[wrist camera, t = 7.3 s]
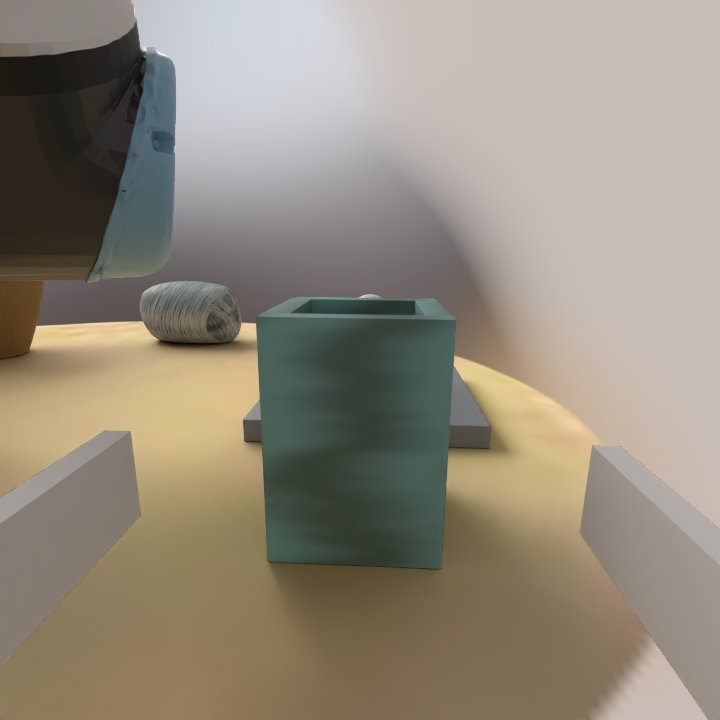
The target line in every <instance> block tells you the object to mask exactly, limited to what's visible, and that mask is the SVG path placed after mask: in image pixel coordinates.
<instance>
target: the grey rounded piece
mask: <svg viewBox="0 0 720 720" xmlns="http://www.w3.org/2000/svg"><path fill="white" fill-rule="evenodd" d="M140 312H141V316H142V319H143V321H144V324H145V326H146V328H147V329H148V330H149V332H150V333H151V334H152V335H153V336H154V337H156V338H157V339H159V340H162V341H169V342H178V343H225V342H229V341H233V340H234V339H235V338H236V337H237V335H238V334H239V331H240V327H241V323H242V322H241V313H240V308H239V305H238V302H237V300H236V298H235V296H234V294H233V293H232V292H231V290H230V289H228V288H226V287H224V286H222V285H218V284H211V283H205V282H193V281H181V282H180V281H179V282H168V283H162V284H158V285H156V286H153V287H151V288H149V289H148V290H146V291H145V292H144V293H143V294H142V297H141V301H140Z"/></svg>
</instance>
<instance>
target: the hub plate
mask: <svg viewBox="0 0 720 720" xmlns="http://www.w3.org/2000/svg"><path fill="white" fill-rule="evenodd" d="M360 298H381V297H379V296H377V295H373V294H367V295H363V296H361V297H360ZM243 427H244V441H262V434H261V413H260V400H259V401H258V402H257V404H256V405H255V406H254V407H253V408H252V410H251V411H250V412H249V413H248V414H247V416H246V417H245V418H244V419H243ZM490 431H491V426H490V424H489V422H488V421H487V419H486V418H485V416H484V414H483V413H482V411H481V409H480V408H479V406H478V405H477V403H476V401H475V400H474V398H473V396H472V395H471V393H470V391H469V390H468V388H467V387H466V385H465V383H464V382H463V380H462V378H461V377H460V375H459V373H458V372H457V370H456V369H455V367H454V365H453V381H452V397H451V414H450V430H449V447H467V448H489V443H490Z"/></svg>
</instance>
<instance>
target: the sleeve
mask: <svg viewBox="0 0 720 720" xmlns="http://www.w3.org/2000/svg"><path fill="white" fill-rule="evenodd" d="M256 329H257V350H258V371H259V392H260V413H261V434H262V455H263V476H264V497H265V518H266V539H267V560H268V561H269V562H292V563H316V564H339V565H363V566H386V567H410V568H433V569H441V563H442V546H443V530H444V513H445V496H446V480H447V463H448V447H449V430H450V414H451V397H452V381H453V364H454V347H455V331H456V319H455V318H454V317H452V316H451V315H450V314H449V313H448V312H447V311H446V310H445V309H444V308H443V307H442V306H441V305H440V304H439V303H438V302H437V301H436V300H435V299H411V298H410V299H409V298H339V297H293V298H291V299H289V300H287V301H286V302H284V303H282V304H280V305H278V306H276V307H274V308H272V309H270V310H268V311H266V312H264V313H262V314H260V315H258V316H257V317H256Z"/></svg>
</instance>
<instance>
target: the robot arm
mask: <svg viewBox="0 0 720 720" xmlns="http://www.w3.org/2000/svg"><path fill="white" fill-rule="evenodd" d="M175 123H176V77H175V67H174V64H173V62H172V61H171V59H170V58H169V57H168V56H167V55H164V54H161V53H159V52H158V51H156V49H155V48H154V47H144V49H143V50H141V48H140V42H139V35H138V27H137V20H136V14H135V8H134V4H133V2H132V1H131V0H0V281H52V280H53V281H58V280H60V281H63V280H66V281H67V280H85V281H86V282H87V283H92V282H96V281H98V280H100V279H101V278H120V277H140V276H147V275H150V274H152V273H154V272H156V271H157V270H159V269H160V268H161V267H162V266H164V264H165V263H166V261H167V260H168V258H169V255H170V251H171V243H172V231H173V212H174V181H175V153H174V146H175ZM140 516H141V513H140V505H139V497H138V488H137V480H136V472H135V464H134V456H133V448H132V439H131V431H104V432H102V433H101V434H99V435H97V436H96V437H94V438H93V439H91V440H90V441H88V442H87V443H85V444H83V445H82V446H80V447H79V448H77V449H76V450H74V451H72V452H71V453H69V454H68V455H66V456H65V457H63V458H62V459H60V460H58V461H57V462H55V463H54V464H52V465H51V466H49V467H48V468H46V469H44V470H43V471H41V472H40V473H38V474H37V475H35V476H33V477H32V478H30V479H29V480H27V481H26V482H24V483H23V484H21V485H19V486H18V487H16V488H15V489H13V490H12V491H10V492H9V493H7V494H5V495H4V496H2V497H1V498H0V667H1V666H2V665H3V664H4V663H5V662H6V661H7V660H8V659H9V657H10V656H11V655H12V654H13V653H14V652H15V651H16V650H17V649H18V648H19V647H20V646H21V644H22V643H23V642H24V641H25V640H26V639H27V638H28V637H29V636H30V635H31V634H32V633H33V632H34V630H35V629H36V628H37V627H38V626H39V625H40V624H41V623H42V622H43V621H44V620H45V619H46V617H47V616H48V615H49V614H50V613H51V612H52V611H53V610H54V609H55V608H56V607H57V606H58V604H59V603H60V602H61V601H62V600H63V599H64V598H65V597H66V596H67V595H68V594H69V593H70V591H71V590H72V589H73V588H74V587H75V586H76V585H77V584H78V583H79V582H80V581H81V580H82V579H83V577H84V576H85V575H86V574H87V573H88V572H89V571H90V570H91V569H92V568H93V567H94V566H95V564H96V563H97V562H98V561H99V560H100V559H101V558H102V557H103V556H104V555H105V554H106V553H107V551H108V550H109V549H110V548H111V547H112V546H113V545H114V544H115V543H116V542H117V541H118V540H119V538H120V537H121V536H122V535H123V534H124V533H125V532H126V531H127V530H128V529H129V528H130V527H131V525H132V524H133V523H134V522H135V521H136V520H137V519H138V518H139V517H140ZM580 534H581V536H582V537H583V539H584V540H585V542H586V543H587V544H588V546H589V547H590V549H591V550H592V552H593V553H594V555H595V556H596V557H597V559H598V560H599V562H600V563H601V565H602V566H603V568H604V569H605V571H606V572H607V573H608V575H609V576H610V578H611V579H612V581H613V582H614V584H615V585H616V586H617V588H618V589H619V591H620V592H621V594H622V595H623V597H624V598H625V600H626V601H627V602H628V604H629V605H630V607H631V608H632V610H633V611H634V613H635V614H636V615H637V617H638V618H639V620H640V621H641V623H642V624H643V626H644V627H645V629H646V630H647V631H648V633H649V634H650V636H651V637H652V639H653V640H654V642H655V643H656V644H657V646H658V647H659V649H660V650H661V652H662V653H663V655H664V656H665V658H666V659H667V660H668V662H669V663H670V665H671V666H672V668H673V669H674V670H675V672H676V673H677V675H678V676H679V678H680V679H681V681H682V682H683V683H684V685H685V687H686V688H687V689H688V691H689V692H690V694H691V695H692V697H693V698H694V699H695V701H696V702H697V704H698V705H699V707H700V708H701V709H702V711H703V713H704V714H705V716H706V717H707V718H708V720H720V528H719V527H717V526H716V525H715V524H714V523H713V522H712V521H710V520H709V519H708V518H707V517H706V516H704V515H703V514H702V513H701V512H699V511H698V510H697V509H696V508H695V507H693V506H692V505H691V504H690V503H688V502H687V501H686V500H685V499H684V498H683V497H681V496H680V495H679V494H678V493H677V492H675V491H674V490H673V489H672V488H671V487H669V486H668V485H667V484H666V483H664V482H663V481H662V480H661V479H660V478H658V477H657V476H656V475H655V474H654V473H652V472H651V471H650V470H649V469H648V468H646V467H645V466H644V465H643V464H642V463H640V462H639V461H638V460H637V459H636V458H634V457H633V456H632V455H631V454H629V453H628V452H627V451H626V450H625V449H623V448H622V447H621V446H594V445H592V451H591V458H590V465H589V472H588V479H587V486H586V493H585V500H584V507H583V514H582V521H581V528H580Z"/></svg>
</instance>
